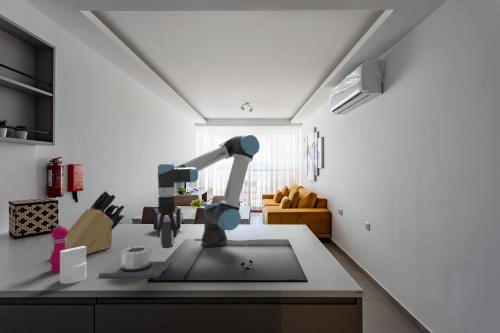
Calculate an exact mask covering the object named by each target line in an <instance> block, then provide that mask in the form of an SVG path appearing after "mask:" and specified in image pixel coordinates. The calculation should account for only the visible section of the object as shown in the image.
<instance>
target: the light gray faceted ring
mask: <svg viewBox="0 0 500 333" xmlns="http://www.w3.org/2000/svg"><path fill="white" fill-rule="evenodd" d="M152 252H153V251H152V247H151V246H148V245H134V246H128V247H125V248H123V249H121V250H120V261H121V270H122V271H124V272H139V271H143V270H146V269H148V268H150V267H151V263H152V261H153V260H152V259H153V258H152Z"/></svg>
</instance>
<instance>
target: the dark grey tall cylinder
mask: <svg viewBox="0 0 500 333" xmlns="http://www.w3.org/2000/svg"><path fill="white" fill-rule="evenodd" d="M171 231H173V229H172V225H171V221H163V222H162V245H161V248H162V249H171V248H173V246H174V245H172V237H171Z"/></svg>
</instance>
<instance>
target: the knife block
mask: <svg viewBox="0 0 500 333" xmlns="http://www.w3.org/2000/svg"><path fill="white" fill-rule="evenodd" d="M115 198H116V196H115V195H114V194H110V193H109V192H108V191H107V190H105V191H104V192H102V194H100V195H99V196H98V197H97V199H96V200H95V201H94V203H93V204H92V205H91V206H90V207H89V208H86V209H85V211H83V213H82V214H81V215H80V216H79V218H78V219H77V220H76V221H75V222H74V224H73V225H72V226H71V228H70V229H69V230H68V235H67V236H66V238H67V239H66V240H67V241H66V242H65V246H66V250H67V249H71V248H75V247H80V246H86V256H87V255H90V254H92V253H95V252H99V251H103V250H107V249H110V248H112V240H113V238H112V236H113V230H114V229H115V228H116V227H117V226H118V224H120V222H121V221H122V220H123V219H124V218H125V215H124V214H123V215H122V214H121V212H122V211H123V209H125V206H124V205H121V206H118V205H114V204H112V203H113V202H114V200H115ZM114 211H115V212H114ZM53 250H54V248H53V249H52V250H51V252H50V254H51V255H52V253H53Z"/></svg>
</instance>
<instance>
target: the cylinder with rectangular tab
mask: <svg viewBox="0 0 500 333" xmlns="http://www.w3.org/2000/svg"><path fill="white" fill-rule="evenodd" d="M87 264H88V263H87V255H86V246H80V247H75V248H71V249H67V250H62V251H60V272H59V283H61V284H64V285H68V284H69V285H70V284H75V283H80V282H82V281H85V279H87V276H88V275H87V266H88V265H87Z"/></svg>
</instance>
